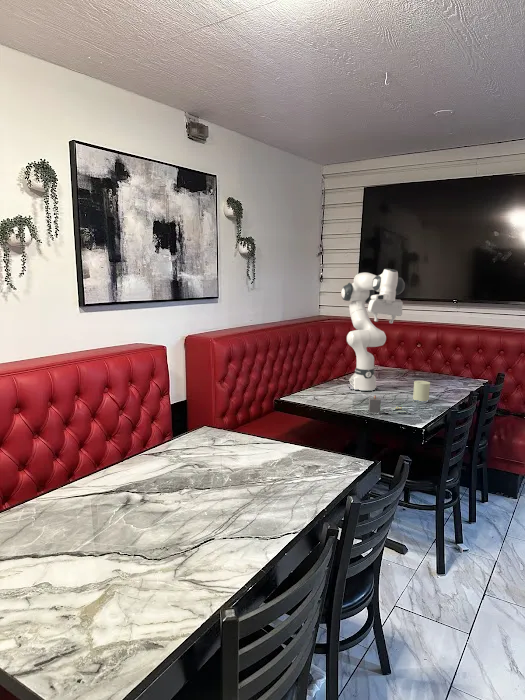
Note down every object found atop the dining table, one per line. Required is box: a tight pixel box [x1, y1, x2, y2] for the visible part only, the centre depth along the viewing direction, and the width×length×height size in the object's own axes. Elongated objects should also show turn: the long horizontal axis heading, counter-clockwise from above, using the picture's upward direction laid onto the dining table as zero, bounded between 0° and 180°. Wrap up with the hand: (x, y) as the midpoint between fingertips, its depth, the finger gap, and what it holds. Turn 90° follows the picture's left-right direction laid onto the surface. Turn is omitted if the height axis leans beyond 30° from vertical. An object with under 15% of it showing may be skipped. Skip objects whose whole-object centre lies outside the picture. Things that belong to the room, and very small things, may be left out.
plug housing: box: [367, 395, 382, 413], centre depth 245 cm, size 4×6×10 cm
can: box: [412, 380, 431, 401], centre depth 270 cm, size 9×9×12 cm
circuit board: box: [391, 404, 406, 413], centre depth 252 cm, size 17×15×3 cm
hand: (383, 322), depth 258 cm, fingers open, 8 cm apart
